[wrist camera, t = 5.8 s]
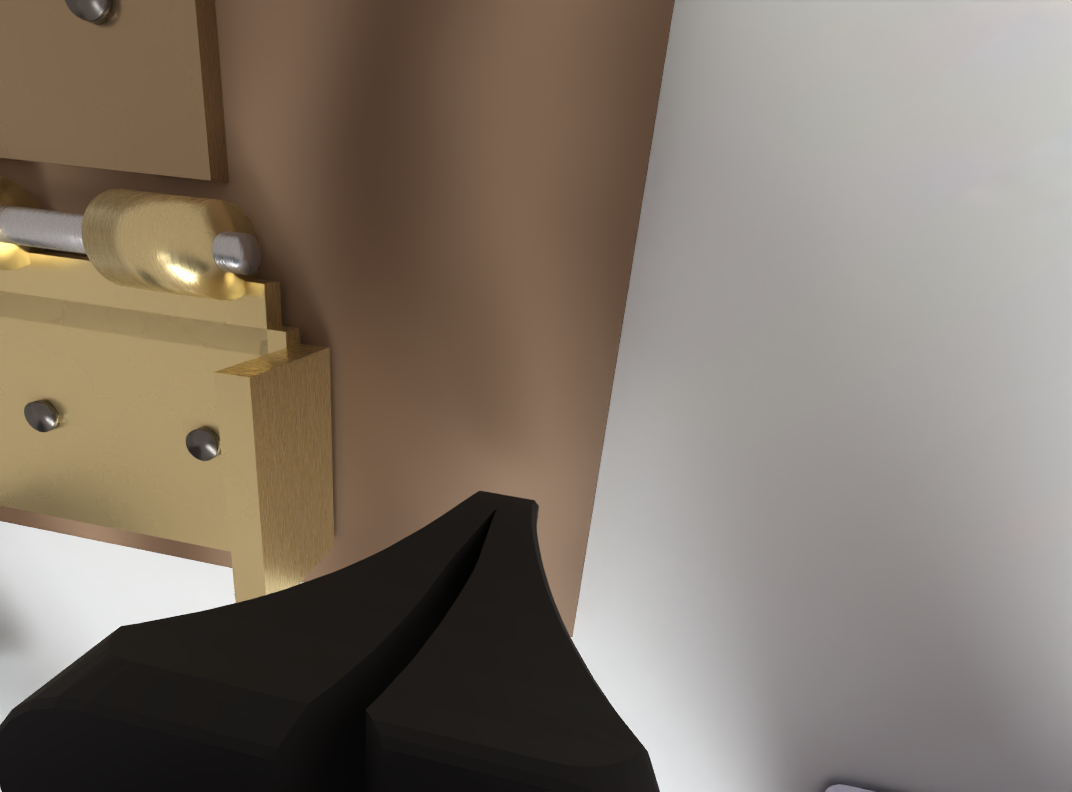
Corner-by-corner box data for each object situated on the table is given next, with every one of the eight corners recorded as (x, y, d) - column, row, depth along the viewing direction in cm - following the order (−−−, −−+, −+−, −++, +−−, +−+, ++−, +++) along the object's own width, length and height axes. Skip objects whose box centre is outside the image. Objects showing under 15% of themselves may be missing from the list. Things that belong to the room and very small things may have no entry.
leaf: (-87, 475, 17) (-231, 523, 14) (-186, 153, 14) (-397, 131, 11) (334, 557, 15) (268, 631, 12) (326, 211, 12) (236, 203, 9)
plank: (713, -250, 9) (721, -293, 9) (574, 617, 16) (572, 636, 15) (-343, -253, 12) (-406, -286, 12) (-104, 483, 18) (-135, 493, 18)
